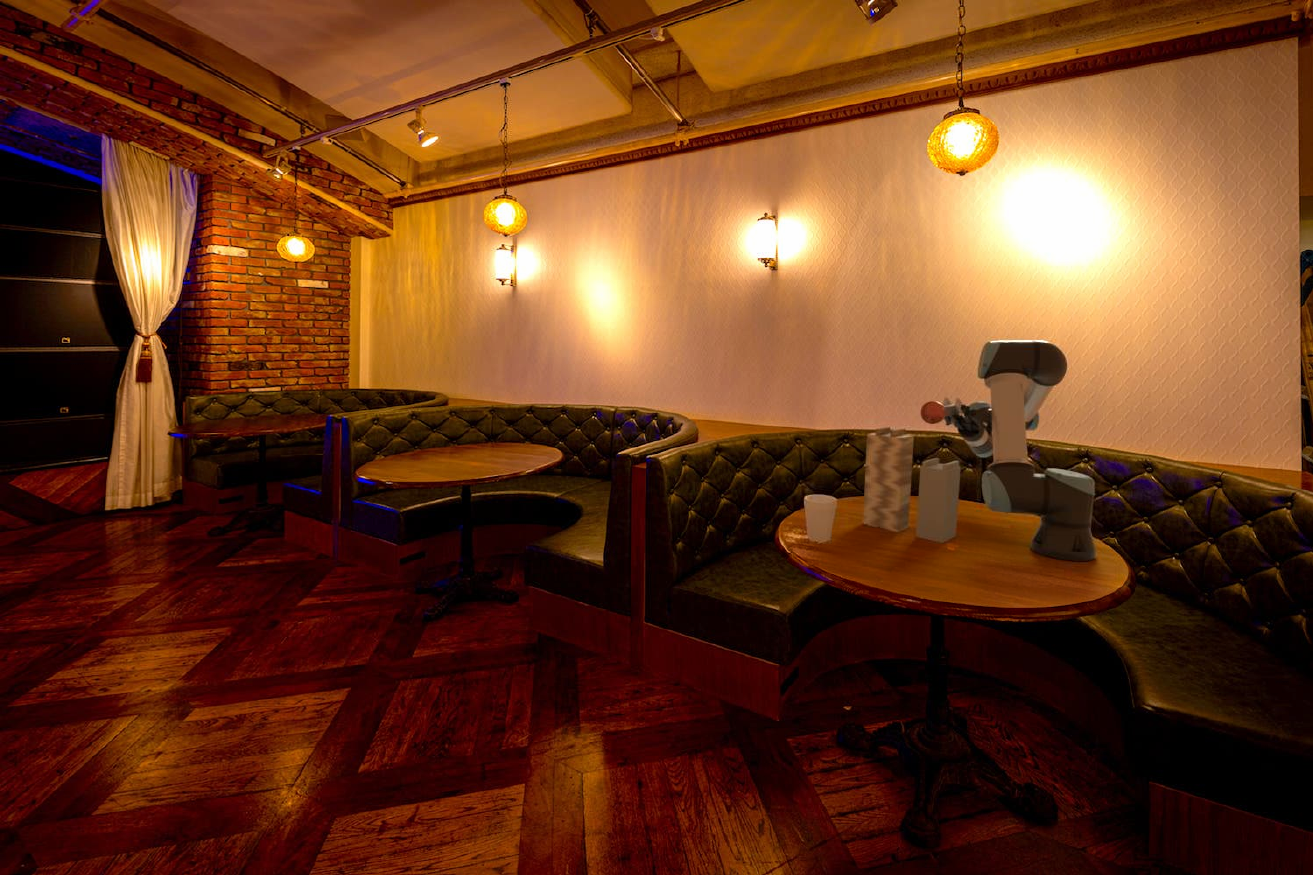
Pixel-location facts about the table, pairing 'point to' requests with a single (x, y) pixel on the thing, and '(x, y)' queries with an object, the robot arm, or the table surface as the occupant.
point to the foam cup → (819, 516)
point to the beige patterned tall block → (888, 479)
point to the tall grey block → (938, 500)
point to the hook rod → (937, 411)
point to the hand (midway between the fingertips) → (950, 401)
